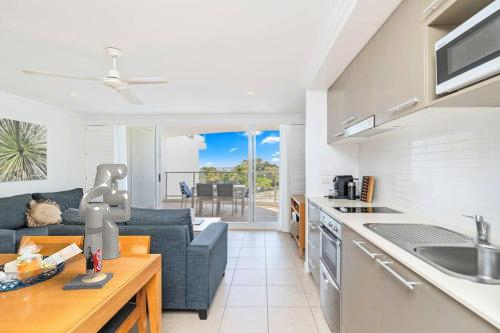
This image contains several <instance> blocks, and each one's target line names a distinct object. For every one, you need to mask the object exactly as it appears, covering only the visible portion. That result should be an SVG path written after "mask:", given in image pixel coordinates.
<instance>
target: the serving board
mask: <svg viewBox="0 0 500 333" xmlns="http://www.w3.org/2000/svg"><path fill="white" fill-rule="evenodd" d="M112 278H114V272H99V273H97V274H88V273H79V274H77V275H76V276H74V277H73V278H72V279H71V280H69V281H68V282H67V283H65V284H64V285H63V291H75V290H77V291H78V290H95V289H98V290H100V289H103V288H104V287H105V285H106V284H108V283H109V281H111V279H112Z"/></svg>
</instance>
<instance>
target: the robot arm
mask: <svg viewBox="0 0 500 333" xmlns="http://www.w3.org/2000/svg"><path fill="white" fill-rule="evenodd" d="M127 175H128V166H127V165H126V163H125V164H124V163H100V164H98V165H97V166H96V173H95V177H94V178H95V179H94V183H93V187H91V188H90V189H89V190H87V191H86V192H85V193H84V194H83V196H82V197H81V199H80V202H79V205H78V206H79V207H78V215H79V218H82V219H84V220H85V221H84V226H85V228H84V230H85V231H84V235H85V236H84V243H83V245H84V246H83V255H84V259H85V262H86V261H87V269H94V261H93V258H94V255H95V254H96V252H97V249H99V248H100V247H101V248H100V249H101V250H102V261H103V260H105V261H106V260H108V261H109V260H113V259H118V258H120V257H121V256H122V252H120V250H119V249H120V246H119V230H120V229H119V226H118V225H117V224H116V223H121V222H122V223H123V222H128V221H130V219H131V214H132V213H131V203H132V202H131V192H130V191H129V190H127V189H121V190H120V189H119V187H118V186H119V182H118V180H121V181H122V180H124V179H125V178H126V176H127ZM100 196H102V201H103V202H101V203H99V202H98V203H97V202H96V203H89V202H91V201H92V200H94V199H96V198H98V197H100ZM112 206H113V207H112ZM90 253H92V254H90ZM89 256H92V257H89Z"/></svg>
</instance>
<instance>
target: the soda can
mask: <svg viewBox="0 0 500 333" xmlns="http://www.w3.org/2000/svg"><path fill="white" fill-rule="evenodd" d="M100 248H101V247H100ZM100 248H99V249H97V252H96V254H95V255H94V258H93V261H94V269H87V261H86V260H85V272H86V273H85V274H97V273H101V271H102V269H103V259H102V250H101V249H100ZM90 254H92V253H90ZM89 257H92V256H89Z"/></svg>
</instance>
